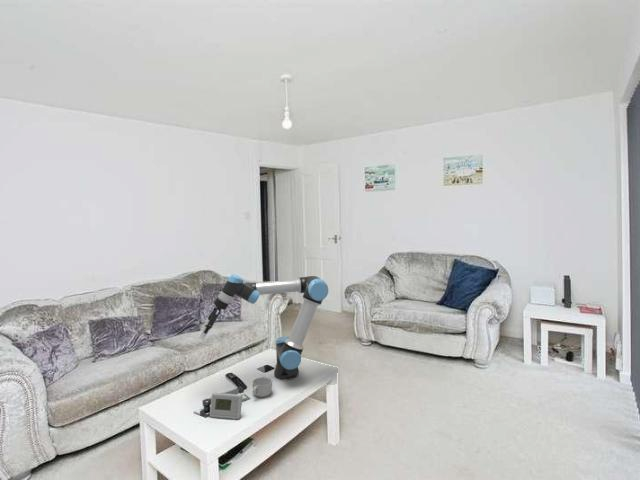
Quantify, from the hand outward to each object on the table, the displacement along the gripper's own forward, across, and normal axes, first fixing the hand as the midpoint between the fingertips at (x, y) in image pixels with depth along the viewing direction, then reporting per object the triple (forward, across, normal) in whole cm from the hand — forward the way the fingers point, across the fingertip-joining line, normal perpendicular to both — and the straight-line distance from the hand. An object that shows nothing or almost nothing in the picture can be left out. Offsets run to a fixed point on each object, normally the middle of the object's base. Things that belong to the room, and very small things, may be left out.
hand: (202, 334), depth 199 cm
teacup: (+13, +9, +44) cm, 47 cm away
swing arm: (+20, +15, +25) cm, 35 cm away
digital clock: (+23, +25, +29) cm, 44 cm away
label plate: (+18, +10, +35) cm, 41 cm away
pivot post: (+28, +19, +21) cm, 39 cm away
